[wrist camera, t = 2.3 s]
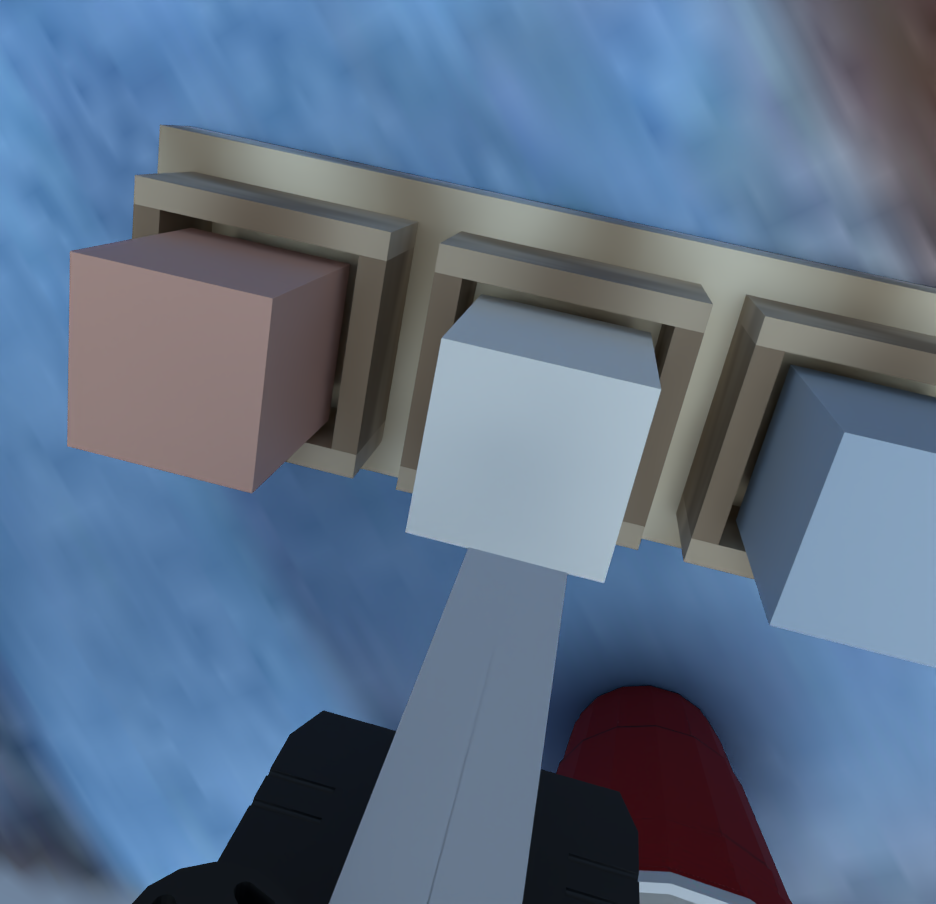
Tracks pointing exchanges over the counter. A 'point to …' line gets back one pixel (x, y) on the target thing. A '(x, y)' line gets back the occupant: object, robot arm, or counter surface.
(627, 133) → the counter surface
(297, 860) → the robot arm
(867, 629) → the slate key
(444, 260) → the beige slotted block
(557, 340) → the ivory key
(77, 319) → the terracotta key
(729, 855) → the plastic cup
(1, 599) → the counter surface
